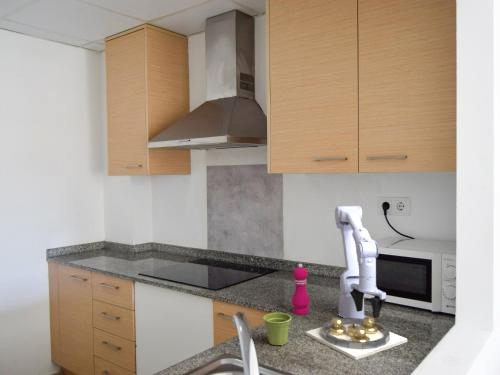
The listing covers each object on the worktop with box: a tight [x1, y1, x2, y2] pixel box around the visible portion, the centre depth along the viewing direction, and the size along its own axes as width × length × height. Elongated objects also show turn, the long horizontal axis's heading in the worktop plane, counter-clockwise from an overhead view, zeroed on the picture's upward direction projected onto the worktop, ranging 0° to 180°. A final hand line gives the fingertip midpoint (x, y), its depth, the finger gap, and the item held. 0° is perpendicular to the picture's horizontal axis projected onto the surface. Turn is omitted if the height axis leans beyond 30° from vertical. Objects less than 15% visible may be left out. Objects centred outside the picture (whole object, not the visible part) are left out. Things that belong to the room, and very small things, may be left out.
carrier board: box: [305, 324, 408, 361], centre depth 143 cm, size 24×24×1 cm
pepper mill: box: [291, 263, 311, 316], centre depth 170 cm, size 7×7×20 cm
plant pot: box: [263, 312, 292, 346], centre depth 141 cm, size 9×9×9 cm
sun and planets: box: [329, 317, 370, 342], centre depth 142 cm, size 17×9×4 cm, turn 32°
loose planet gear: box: [360, 315, 378, 334], centre depth 147 cm, size 6×6×4 cm
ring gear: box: [321, 317, 390, 349], centre depth 143 cm, size 22×22×2 cm
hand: (367, 314), depth 146 cm, fingers open, 7 cm apart
